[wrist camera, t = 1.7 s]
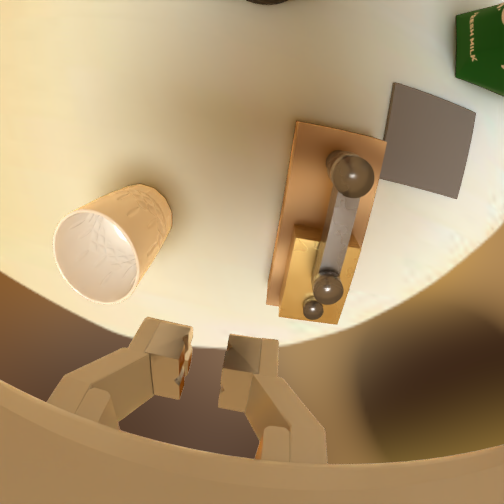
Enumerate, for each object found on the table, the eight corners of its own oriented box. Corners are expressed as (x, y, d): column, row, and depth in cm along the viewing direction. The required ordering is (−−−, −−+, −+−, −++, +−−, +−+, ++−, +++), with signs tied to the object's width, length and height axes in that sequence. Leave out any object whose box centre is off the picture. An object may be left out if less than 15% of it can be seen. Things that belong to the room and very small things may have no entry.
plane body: (296, 120, 26) (301, 123, 20) (373, 137, 26) (399, 146, 20) (267, 282, 33) (264, 322, 27) (334, 292, 33) (344, 333, 27)
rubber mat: (393, 82, 24) (395, 82, 23) (472, 112, 24) (476, 112, 23) (375, 176, 28) (377, 178, 27) (454, 197, 28) (456, 199, 27)
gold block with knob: (294, 223, 26) (296, 242, 23) (353, 234, 26) (363, 253, 23) (279, 296, 29) (278, 322, 26) (332, 304, 29) (338, 330, 26)
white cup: (169, 171, 29) (122, 201, 20) (185, 248, 32) (152, 303, 23) (99, 185, 30) (40, 218, 21) (119, 255, 33) (72, 305, 24)
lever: (331, 147, 20) (340, 154, 17) (367, 155, 20) (383, 164, 17) (303, 276, 25) (306, 301, 21) (336, 281, 25) (343, 307, 21)
